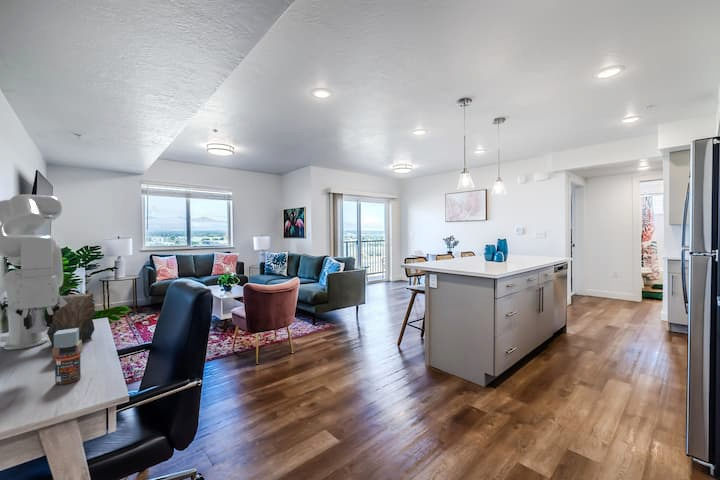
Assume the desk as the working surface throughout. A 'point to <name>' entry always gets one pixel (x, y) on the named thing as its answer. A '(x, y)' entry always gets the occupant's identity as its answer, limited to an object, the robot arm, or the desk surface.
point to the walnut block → (56, 351)
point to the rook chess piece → (38, 321)
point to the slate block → (66, 337)
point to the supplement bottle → (67, 364)
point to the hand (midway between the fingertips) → (39, 326)
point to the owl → (74, 316)
